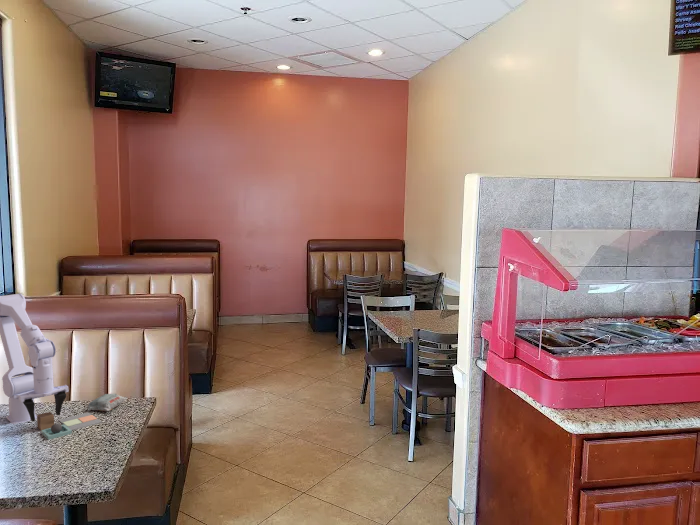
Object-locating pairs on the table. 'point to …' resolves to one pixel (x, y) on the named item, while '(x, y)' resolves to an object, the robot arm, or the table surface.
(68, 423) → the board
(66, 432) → the dish
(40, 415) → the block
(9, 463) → the table surface
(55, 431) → the ball
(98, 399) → the packaged food
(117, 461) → the table surface
